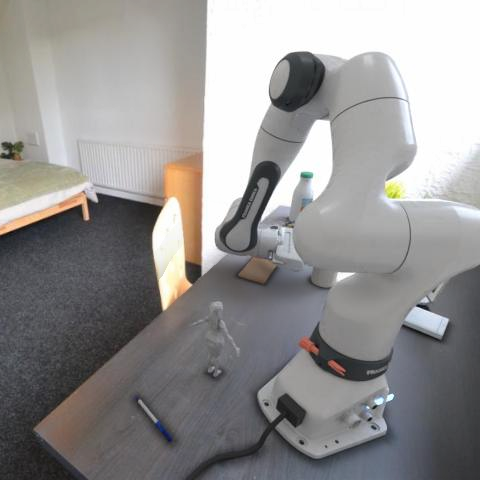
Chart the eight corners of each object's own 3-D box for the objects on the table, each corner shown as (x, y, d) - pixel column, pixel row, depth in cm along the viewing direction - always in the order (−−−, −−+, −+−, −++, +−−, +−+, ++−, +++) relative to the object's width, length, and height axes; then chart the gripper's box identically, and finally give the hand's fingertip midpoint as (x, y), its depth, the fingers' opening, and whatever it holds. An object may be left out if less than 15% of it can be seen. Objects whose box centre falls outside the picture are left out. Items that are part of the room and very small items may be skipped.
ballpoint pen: (174, 440, 57) (173, 436, 56) (170, 443, 56) (169, 439, 56) (138, 398, 64) (137, 394, 63) (134, 401, 63) (134, 397, 63)
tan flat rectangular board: (263, 284, 97) (263, 283, 97) (237, 276, 101) (237, 275, 101) (281, 258, 110) (281, 257, 110) (258, 252, 114) (258, 251, 114)
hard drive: (380, 310, 83) (443, 335, 75) (390, 296, 88) (449, 317, 80) (379, 315, 84) (440, 340, 76) (388, 301, 89) (447, 323, 81)
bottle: (324, 290, 94) (338, 232, 86) (306, 279, 99) (317, 223, 91) (339, 283, 96) (354, 227, 88) (320, 273, 101) (333, 218, 93)
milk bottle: (290, 223, 134) (298, 175, 125) (287, 216, 141) (294, 169, 132) (310, 224, 133) (320, 175, 124) (306, 217, 140) (315, 170, 131)
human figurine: (242, 385, 66) (251, 313, 58) (231, 397, 63) (239, 324, 55) (195, 353, 73) (198, 286, 65) (184, 363, 71) (185, 294, 63)
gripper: (268, 251, 88) (326, 260, 84) (273, 222, 105) (321, 227, 101) (265, 272, 91) (321, 281, 87) (270, 240, 108) (317, 246, 104)
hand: (321, 252), depth 94 cm, fingers open, 8 cm apart
